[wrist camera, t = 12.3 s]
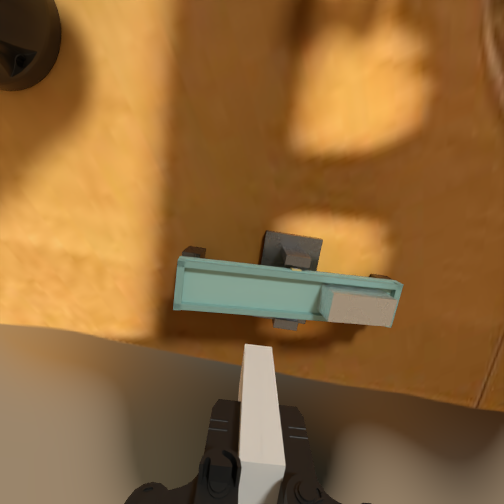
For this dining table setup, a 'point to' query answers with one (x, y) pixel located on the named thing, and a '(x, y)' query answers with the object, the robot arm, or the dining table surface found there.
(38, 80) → the robot arm
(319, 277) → the beam
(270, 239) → the stand
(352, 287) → the block
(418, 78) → the dining table surface
